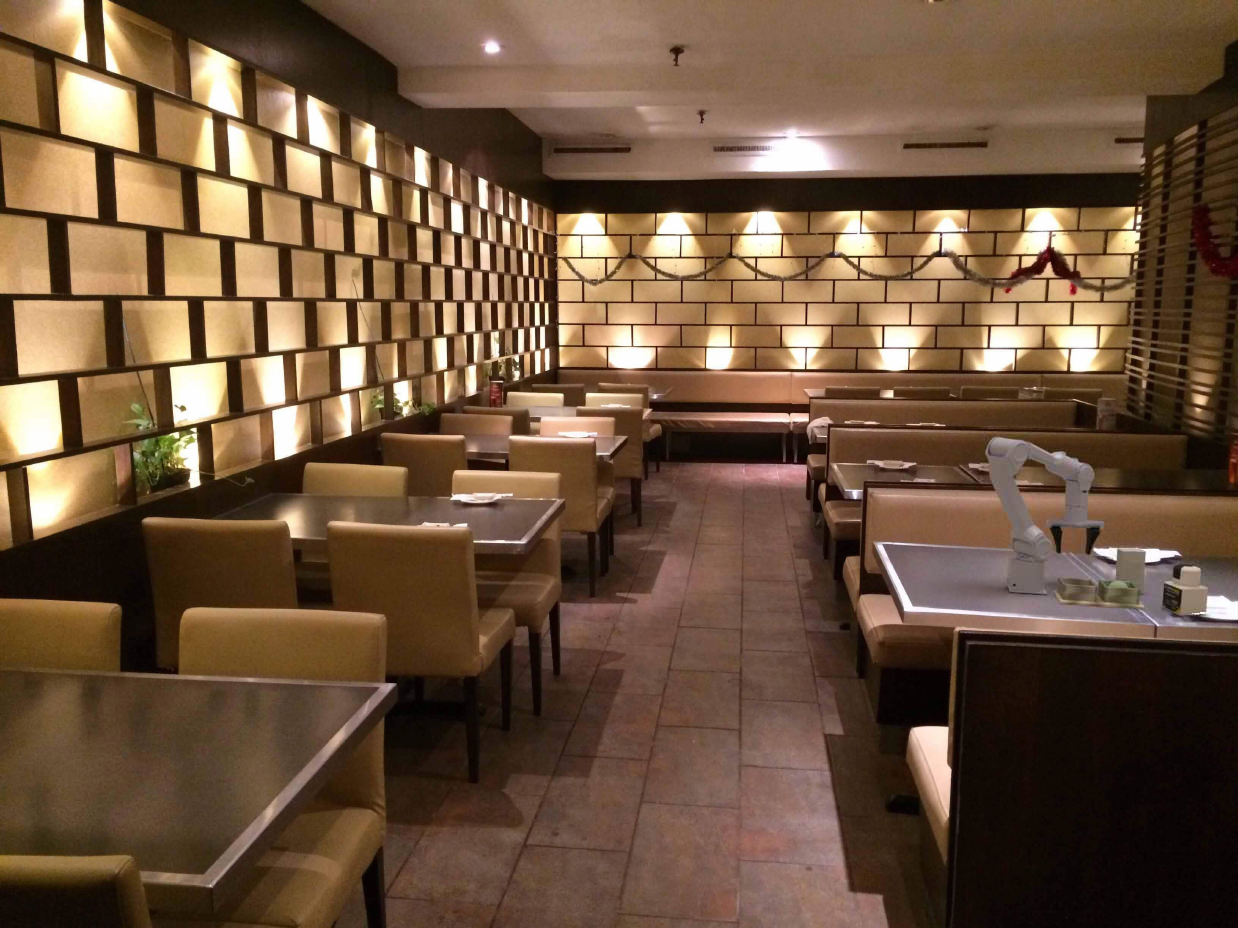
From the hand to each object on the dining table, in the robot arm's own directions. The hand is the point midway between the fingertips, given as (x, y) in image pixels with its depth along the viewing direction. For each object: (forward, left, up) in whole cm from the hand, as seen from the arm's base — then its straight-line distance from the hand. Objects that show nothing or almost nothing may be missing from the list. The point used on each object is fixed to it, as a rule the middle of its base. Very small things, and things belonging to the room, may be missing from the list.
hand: (1073, 553), depth 271 cm
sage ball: (+9, -14, -6) cm, 18 cm away
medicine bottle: (+23, -20, -10) cm, 32 cm away
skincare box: (+14, -3, -10) cm, 17 cm away
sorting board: (+4, -15, -9) cm, 18 cm away
